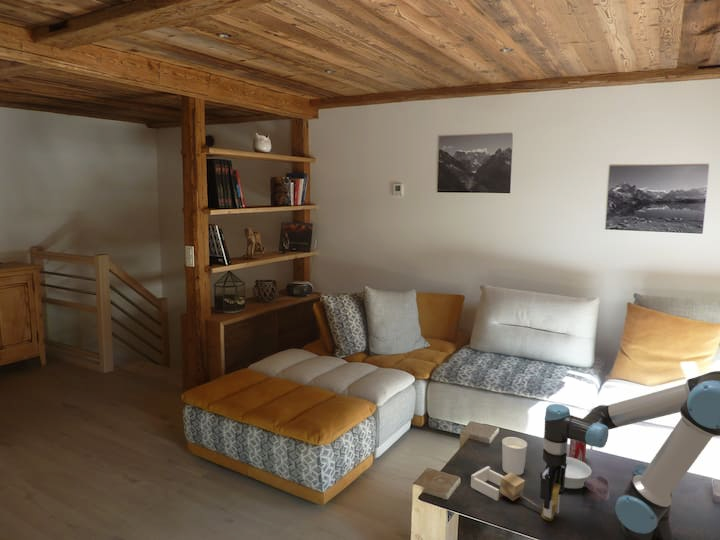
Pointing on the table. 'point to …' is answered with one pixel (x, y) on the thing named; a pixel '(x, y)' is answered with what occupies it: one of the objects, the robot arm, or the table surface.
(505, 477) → the tethered block
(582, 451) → the beverage can
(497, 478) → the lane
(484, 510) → the table surface
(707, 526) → the table surface
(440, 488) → the table surface
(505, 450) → the candle holder
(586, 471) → the cereal bowl
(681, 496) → the table surface
